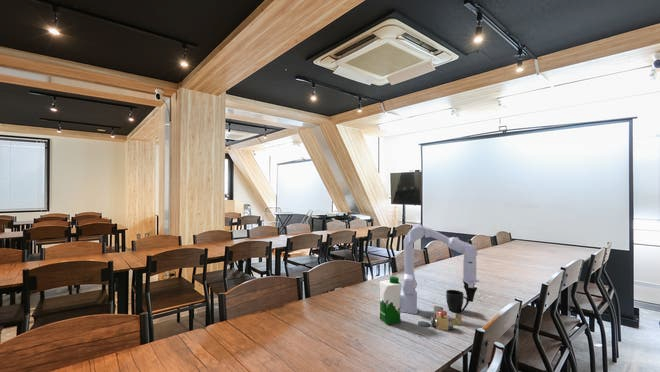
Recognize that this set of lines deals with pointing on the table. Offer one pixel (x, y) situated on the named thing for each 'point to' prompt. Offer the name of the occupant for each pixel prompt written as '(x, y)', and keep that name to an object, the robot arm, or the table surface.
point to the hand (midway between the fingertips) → (469, 298)
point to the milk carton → (390, 301)
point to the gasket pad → (424, 324)
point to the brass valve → (442, 321)
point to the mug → (455, 301)
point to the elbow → (457, 320)
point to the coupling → (436, 310)
